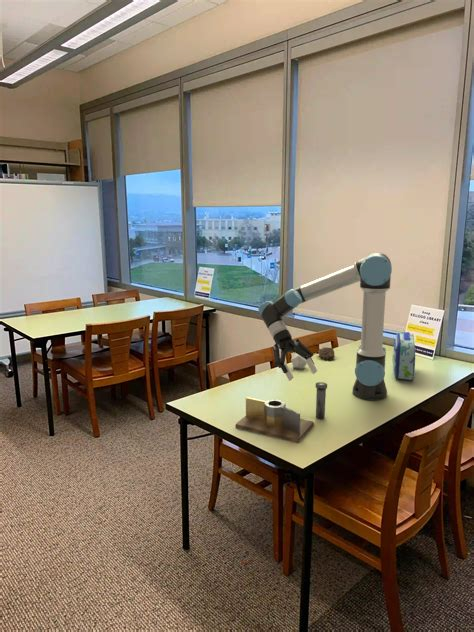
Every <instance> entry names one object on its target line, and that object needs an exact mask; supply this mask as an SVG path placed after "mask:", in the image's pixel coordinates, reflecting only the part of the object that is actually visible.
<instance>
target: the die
mask: <svg viewBox="0 0 474 632" xmlns="http://www.w3.org/2000/svg"><path fill="white" fill-rule="evenodd" d="M291 357H292V358H291V359H290V362H291V365H292V367H293V369H299V370H304V369H305V367H306V366H307V365H308V364H307V363H306V359H305V358H303V357H301V356H300V355H298V354H297V353H294V354H293V355H292V356H291Z"/></svg>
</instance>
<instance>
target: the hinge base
mask: <svg viewBox="0 0 474 632" xmlns="http://www.w3.org/2000/svg"><path fill="white" fill-rule="evenodd" d="M314 422H315V421H312V420H307V419H303V418H300V434H297V433H294V432H292V431H290V430H288V429H286V428H284V427H270V426H267V425H266V424H265V423H264V421H263V420H258V419H254V418H250V417H246V415H245V416H243V417H242V418H241V419H240V420H238V421H237V422H236V423H235V428H236V429H241V430H245V431H248V432H252V433H256V434H261V435H265V436H269V437H273V438H276V439H281V440H285V441H289V442H293V443H297V444H299V443H300V442H301V441H302V440H303V439H304V437H305V436H306V435H307V434H308V432H309V431H310V430H311V429H312V428H313V426H315V425H314V424H315V423H314Z"/></svg>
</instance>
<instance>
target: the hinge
mask: <svg viewBox="0 0 474 632" xmlns="http://www.w3.org/2000/svg"><path fill="white" fill-rule="evenodd" d="M286 406H287V405H286V402H285V401H284V400H280V399H268V400H262V399H257V398H252V397H247V396H246V397H245V416H246V417H250V418H254V419H258V420H263V421H264V423H265V424H266V425H267V426H270V427H284V428H286V429H288V430H290V431H292V432H294V433H297V434H300V419H301V413H300V412H298V411H295V410H293V409H291V408H288V407H286Z"/></svg>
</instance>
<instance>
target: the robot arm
mask: <svg viewBox="0 0 474 632" xmlns="http://www.w3.org/2000/svg"><path fill="white" fill-rule="evenodd" d="M392 272H393V271H392V263H391V260H390V258H389V256H387V255H386V254H384V253H381V252H372V253H370V254H368V255H367V256H365V257H363V258H362V259H359V260H357V261H355V262H354V264H353V265H351V266H347V267H345V268H343V269H340V270H338V271H335V272H333V273H330V274H327V275H325V276H323V277H320V278H317V279H315V280H312V281H310V282H307V283H305V284H302V285H300V286H298V287H293V288H291V289H289V290H287V291H286V292H285V293H283V294H282V295H281V296H280V297H279V298H277V299H276V300H275V301H273V302H272V301H271V300H266V301H265V302H263V303H261V304H260V305H259V306H258V308H257V309H258V312H259V315H260V318H261V319H262V321H263V322H264V324H265V326H266V328H267V330H268V331H269V334H270V335H271V337H272V339H273V341H274V345H273V346H272V350H273V356H274V367H276V368H277V367H278V368H279V369H281V370H282V373H284V374H285V376H286V378H287V380H288V382H290V381H292V380H293V379H294V378H295V377H294V375H293V373H292V371H291V370H290V368H289V366H288V364H287V363H285V362H286V356H287V354H288V353H294V354H295V353H297V354H298V355H300V356H301V357H303V358H305V359H306V363H307V364H306V365H307V366H308V368H309V369H310V371H311V374H312V375H315V374H316V373H317V372H318V368H317V367H316V364H315V362H314V360H313V356H314V353H313V352H312V351H311V350H310V349H309V348H308V347H306V346H305V345H304V344H303V343H302V342H301V341H300V339H299V338H297V339H295V340H293V339H292V334H291V333H290V330H289V329H288V327H287V325H286V324H285V322H284V320H283V319H282V318H283V317H284V316H286V315H287V314H288V313H290V312H291V311H293V310H294V309H295V308H297V307H298V306H299V305H300V304H304V303H306V302H308V301H311V300H314V299H317V298H318V297H322V296H324V295H327V294H329V293H333V292H334V291H338V290H340V289H343V288H347V287H349V286H351V285H354V284H356V283H359V288H360V289H361V290H362V291H363V293H362V294H363V298H362V299H363V300H362V314H361V315H362V317H361V332H360V333H361V334H360V335H361V336H360V337H361V338H360V344H359V346H358V349H357V350H356V359H355V368H354V374H355V382H354V384H353V385H352V394H353V396H355V397H357V398H358V399H359V398H360V399H363V400H367V401H381V400H384V399H387V396H388V388H387V386H386V383H385V375H386V371H385V369H386V355H387V351H386V348H385V347H384V346H383V342H384V341H383V340H384V339H383V338H384V325H385V324H384V322H385V308H386V307H385V306H386V295H387V294H386V293H387V292H388V291H389V290H390V289H391V280H392V277H391V275H392Z"/></svg>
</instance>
